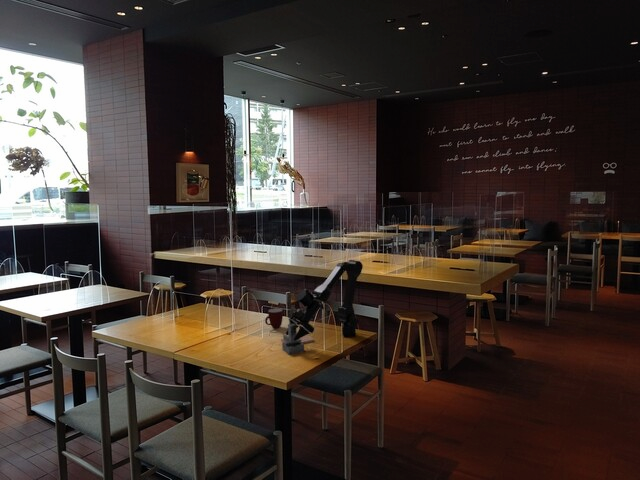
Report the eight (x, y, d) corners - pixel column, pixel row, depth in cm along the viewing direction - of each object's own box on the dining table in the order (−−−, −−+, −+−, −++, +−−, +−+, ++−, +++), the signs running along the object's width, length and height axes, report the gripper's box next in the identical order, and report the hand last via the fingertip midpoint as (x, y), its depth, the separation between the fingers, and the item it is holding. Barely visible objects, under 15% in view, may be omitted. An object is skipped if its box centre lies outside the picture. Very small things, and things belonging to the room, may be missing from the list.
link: (297, 346, 238) (296, 321, 236) (304, 351, 231) (303, 325, 229) (282, 349, 234) (281, 324, 232) (289, 354, 227) (287, 328, 225)
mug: (271, 332, 261) (270, 314, 260) (262, 329, 267) (261, 311, 266) (286, 327, 268) (285, 310, 267) (277, 324, 274) (276, 307, 273)
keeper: (305, 335, 253) (305, 328, 252) (314, 341, 244) (314, 333, 243) (281, 341, 247) (280, 333, 246) (289, 346, 238) (288, 339, 237)
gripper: (291, 297, 239) (271, 323, 236) (307, 306, 223) (286, 333, 219) (305, 310, 244) (286, 335, 240) (323, 319, 227) (302, 346, 224)
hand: (290, 337), depth 231 cm, fingers open, 9 cm apart
